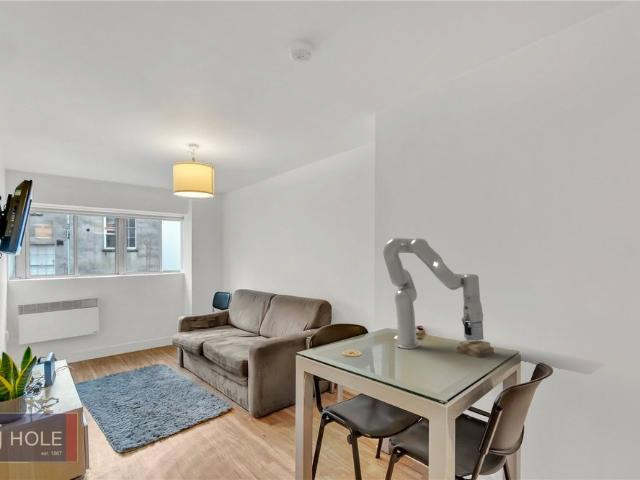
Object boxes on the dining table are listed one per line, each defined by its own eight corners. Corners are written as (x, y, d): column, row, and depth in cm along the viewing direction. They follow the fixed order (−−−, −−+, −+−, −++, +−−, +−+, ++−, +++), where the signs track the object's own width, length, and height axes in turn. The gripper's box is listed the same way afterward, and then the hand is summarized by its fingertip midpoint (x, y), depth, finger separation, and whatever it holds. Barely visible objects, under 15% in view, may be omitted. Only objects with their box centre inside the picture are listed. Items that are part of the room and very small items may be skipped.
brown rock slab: (457, 352, 163) (456, 342, 163) (471, 347, 169) (470, 337, 169) (480, 357, 152) (479, 347, 153) (493, 352, 159) (493, 342, 159)
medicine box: (480, 337, 163) (479, 320, 163) (483, 340, 159) (482, 322, 159) (464, 337, 164) (463, 320, 164) (467, 340, 160) (466, 322, 160)
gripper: (468, 301, 154) (470, 337, 153) (488, 297, 164) (490, 331, 163) (454, 300, 160) (456, 334, 160) (474, 296, 170) (476, 329, 169)
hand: (473, 333), depth 161 cm, fingers closed on medicine box, 8 cm apart
